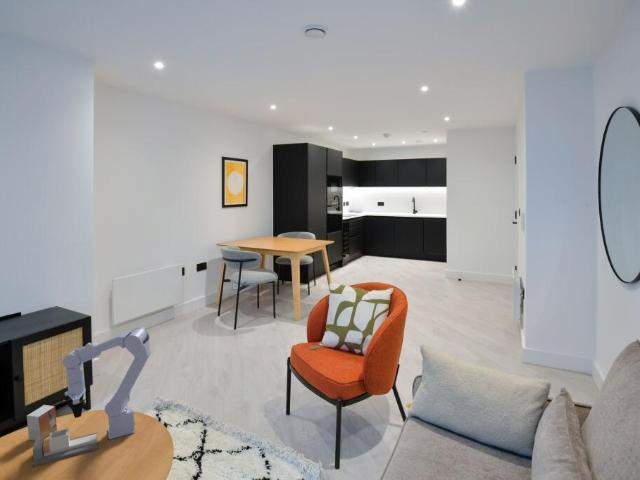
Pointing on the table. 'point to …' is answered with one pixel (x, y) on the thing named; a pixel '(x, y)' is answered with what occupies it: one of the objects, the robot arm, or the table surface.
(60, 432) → the block
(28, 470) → the table surface
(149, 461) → the table surface
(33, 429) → the small box
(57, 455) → the rail board
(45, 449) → the orange block
